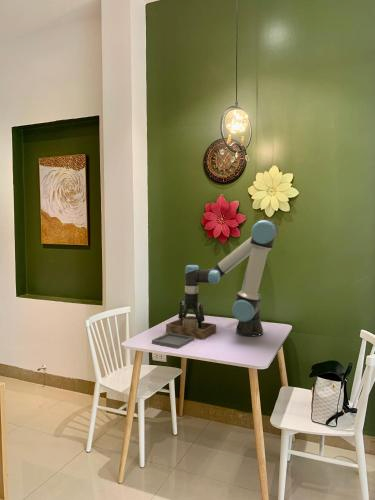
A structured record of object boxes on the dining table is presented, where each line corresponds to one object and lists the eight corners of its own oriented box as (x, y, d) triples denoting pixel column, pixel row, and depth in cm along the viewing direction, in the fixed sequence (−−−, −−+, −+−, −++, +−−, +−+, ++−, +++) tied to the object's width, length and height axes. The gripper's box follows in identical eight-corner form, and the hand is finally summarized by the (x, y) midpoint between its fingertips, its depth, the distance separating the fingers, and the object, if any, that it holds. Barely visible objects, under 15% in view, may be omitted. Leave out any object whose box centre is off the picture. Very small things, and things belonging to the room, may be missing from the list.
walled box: (216, 333, 219) (216, 324, 219) (203, 339, 206) (204, 330, 206) (179, 327, 231) (179, 318, 231) (166, 333, 218) (166, 324, 218)
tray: (194, 340, 205) (194, 337, 205) (178, 348, 191) (178, 345, 191) (168, 335, 213) (168, 332, 213) (151, 343, 199) (151, 340, 199)
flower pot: (199, 331, 223) (200, 316, 222) (198, 335, 213) (199, 320, 213) (183, 330, 224) (183, 315, 223) (181, 335, 214) (182, 319, 214)
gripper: (211, 293, 215) (210, 333, 217) (178, 290, 226) (178, 328, 227) (205, 295, 209) (204, 337, 210) (172, 291, 219) (171, 331, 221)
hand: (191, 332), depth 219 cm, fingers closed on flower pot, 8 cm apart
